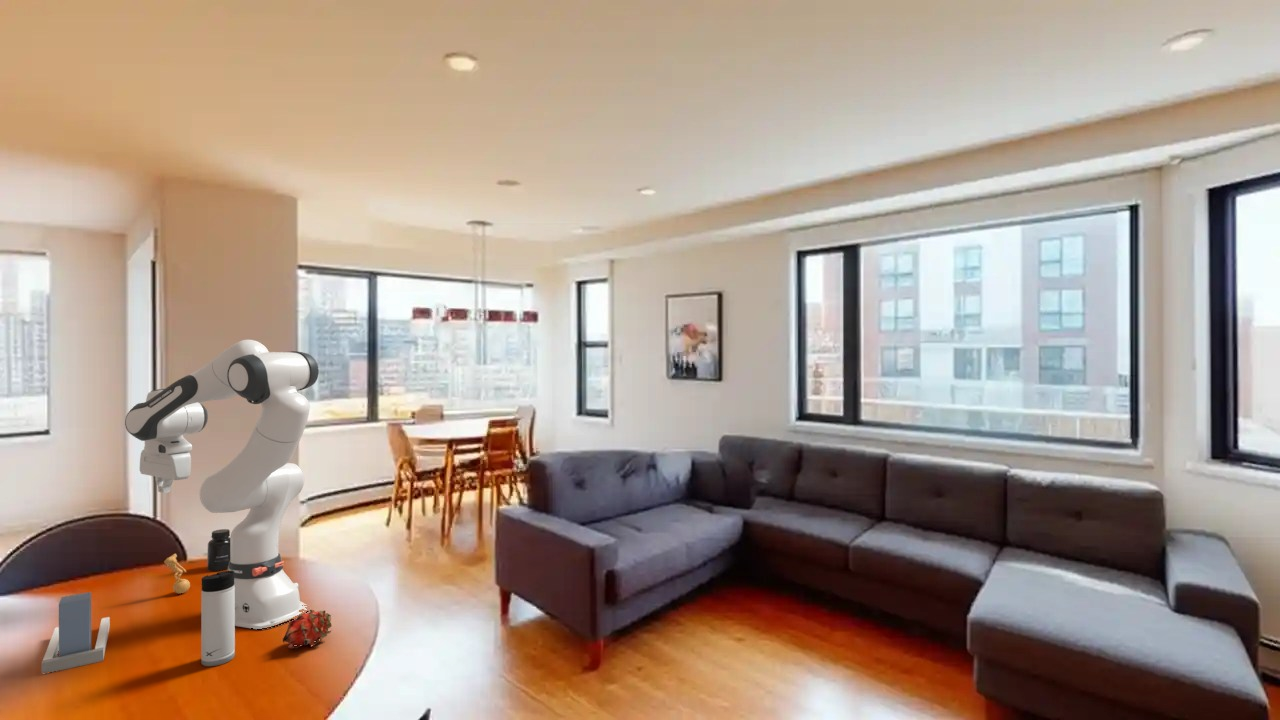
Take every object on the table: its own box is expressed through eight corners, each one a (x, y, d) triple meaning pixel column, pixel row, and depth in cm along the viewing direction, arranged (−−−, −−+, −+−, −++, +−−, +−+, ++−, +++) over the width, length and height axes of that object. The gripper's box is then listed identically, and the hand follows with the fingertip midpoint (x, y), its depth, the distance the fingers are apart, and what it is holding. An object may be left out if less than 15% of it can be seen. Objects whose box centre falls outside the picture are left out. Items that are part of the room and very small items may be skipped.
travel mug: (210, 670, 135) (210, 579, 135) (196, 661, 138) (196, 573, 138) (240, 658, 140) (240, 571, 140) (226, 650, 144) (226, 565, 143)
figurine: (198, 593, 177) (197, 551, 177) (175, 600, 172) (175, 558, 172) (180, 588, 181) (180, 547, 181) (157, 595, 175) (157, 554, 175)
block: (61, 658, 140) (61, 597, 139) (91, 651, 143) (91, 591, 142) (58, 667, 136) (58, 604, 135) (89, 660, 139) (89, 598, 139)
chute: (55, 637, 149) (55, 627, 149) (109, 626, 156) (109, 616, 156) (41, 674, 132) (41, 663, 132) (103, 660, 139) (103, 649, 139)
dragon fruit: (336, 640, 152) (288, 668, 142) (317, 615, 155) (268, 641, 145) (344, 619, 149) (295, 647, 139) (325, 594, 152) (275, 619, 141)
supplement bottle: (219, 572, 194) (219, 534, 194) (201, 570, 195) (201, 533, 195) (238, 565, 200) (238, 528, 200) (220, 563, 202) (220, 527, 202)
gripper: (132, 443, 179) (132, 490, 179) (170, 448, 170) (170, 498, 170) (157, 440, 185) (157, 486, 185) (195, 445, 175) (195, 493, 176)
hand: (164, 492), depth 177 cm, fingers closed
